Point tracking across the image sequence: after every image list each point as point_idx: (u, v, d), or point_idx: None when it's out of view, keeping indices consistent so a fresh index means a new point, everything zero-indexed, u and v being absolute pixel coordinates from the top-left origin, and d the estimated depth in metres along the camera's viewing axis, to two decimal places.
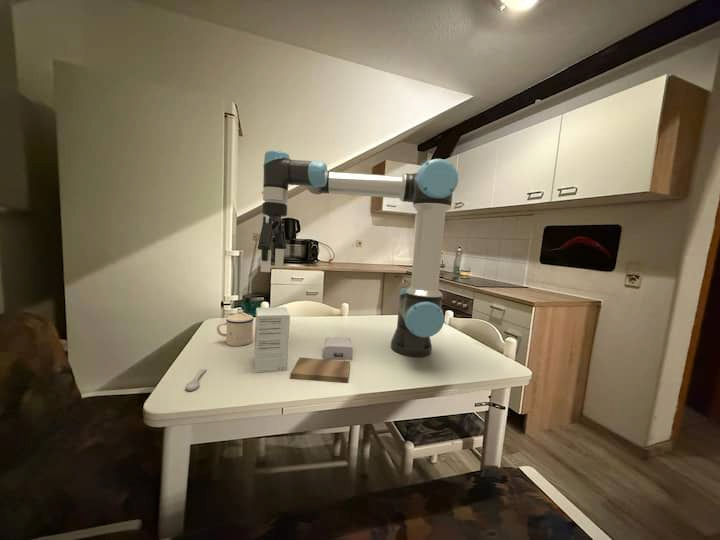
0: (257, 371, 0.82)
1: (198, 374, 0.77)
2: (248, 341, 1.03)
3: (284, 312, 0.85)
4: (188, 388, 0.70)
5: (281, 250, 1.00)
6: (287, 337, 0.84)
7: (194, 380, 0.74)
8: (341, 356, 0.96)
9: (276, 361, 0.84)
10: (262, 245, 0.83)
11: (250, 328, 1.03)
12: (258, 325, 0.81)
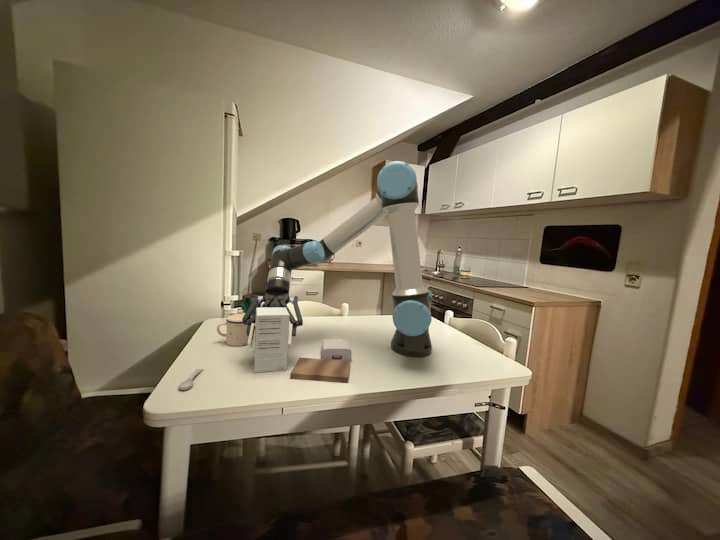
0: (257, 371, 0.82)
1: (193, 374, 0.77)
2: None
3: (284, 312, 0.85)
4: (181, 388, 0.70)
5: (290, 326, 0.88)
6: (287, 337, 0.84)
7: (188, 379, 0.74)
8: (339, 358, 0.94)
9: (276, 361, 0.84)
10: None
11: None
12: (258, 325, 0.81)
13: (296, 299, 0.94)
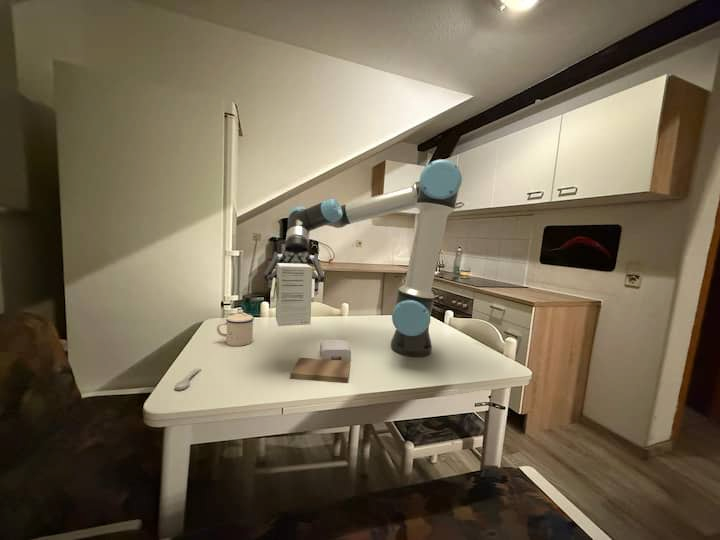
0: (280, 325, 0.80)
1: (190, 373, 0.77)
2: (248, 341, 1.03)
3: (306, 265, 0.83)
4: (177, 387, 0.70)
5: (312, 281, 0.86)
6: (310, 290, 0.82)
7: (185, 379, 0.74)
8: (339, 359, 0.93)
9: (299, 315, 0.82)
10: None
11: (250, 328, 1.03)
12: (281, 276, 0.79)
13: (316, 256, 0.92)
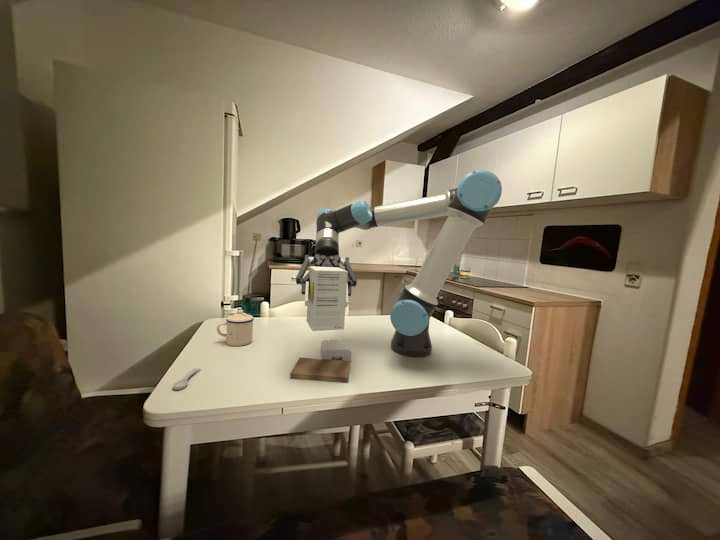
0: (314, 329, 0.79)
1: (189, 373, 0.77)
2: (248, 341, 1.03)
3: (340, 269, 0.82)
4: (174, 387, 0.70)
5: None
6: (344, 295, 0.81)
7: (183, 379, 0.74)
8: None
9: (333, 320, 0.80)
10: (296, 280, 0.84)
11: (250, 328, 1.03)
12: (316, 280, 0.77)
13: (348, 260, 0.91)
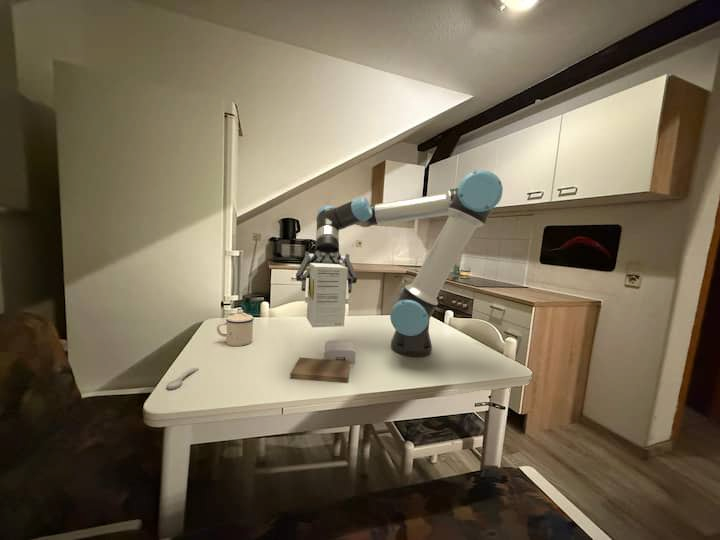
0: (314, 326, 0.79)
1: (185, 373, 0.77)
2: (248, 341, 1.03)
3: (341, 266, 0.82)
4: (168, 386, 0.70)
5: None
6: (345, 291, 0.80)
7: (178, 378, 0.74)
8: (343, 360, 0.93)
9: (333, 317, 0.80)
10: (296, 276, 0.84)
11: (250, 328, 1.03)
12: (317, 277, 0.77)
13: (348, 257, 0.90)
